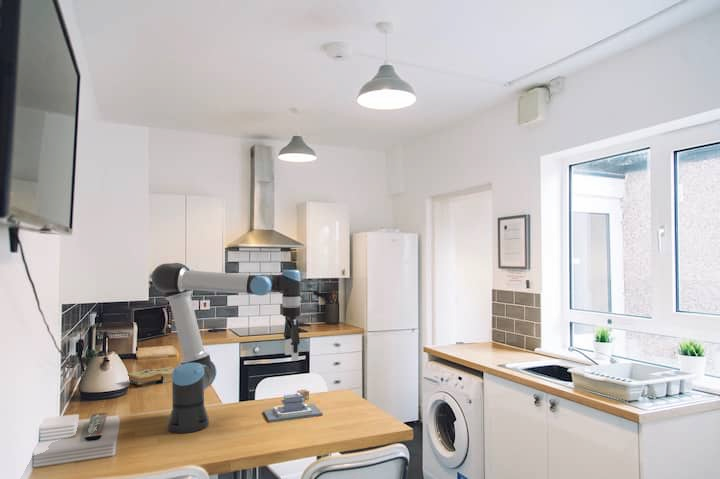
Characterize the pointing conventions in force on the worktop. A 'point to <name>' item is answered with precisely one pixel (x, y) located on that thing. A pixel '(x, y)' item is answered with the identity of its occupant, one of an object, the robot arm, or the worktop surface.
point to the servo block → (293, 402)
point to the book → (152, 376)
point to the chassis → (291, 413)
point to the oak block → (304, 394)
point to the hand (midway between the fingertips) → (291, 357)
